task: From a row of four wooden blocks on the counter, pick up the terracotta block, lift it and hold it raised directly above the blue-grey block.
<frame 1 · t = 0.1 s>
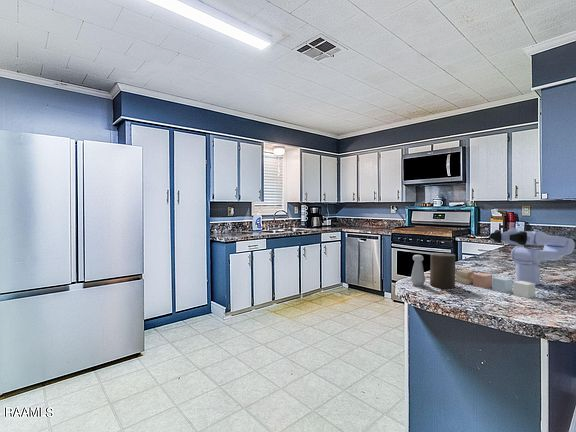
hand: (500, 236, 130), 22 cm above the countertop, tool horizontal, fingers open, 7 cm apart
pillar candle: (442, 286, 136), on the countertop
salt shaker: (417, 285, 138), on the countertop
cream block: (524, 295, 121), on the countertop
blue-grey block: (502, 290, 128), on the countertop
maple block: (464, 282, 143), on the countertop
terracotta block: (482, 286, 135), on the countertop
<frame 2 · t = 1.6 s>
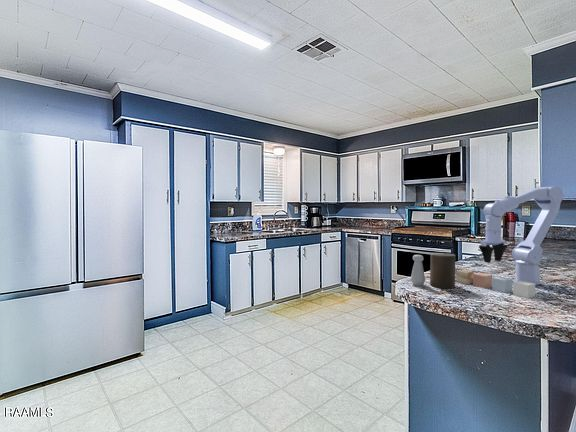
hand: (492, 261, 138), 10 cm above the countertop, tool pointing down, fingers open, 7 cm apart
nothing on the countertop moved.
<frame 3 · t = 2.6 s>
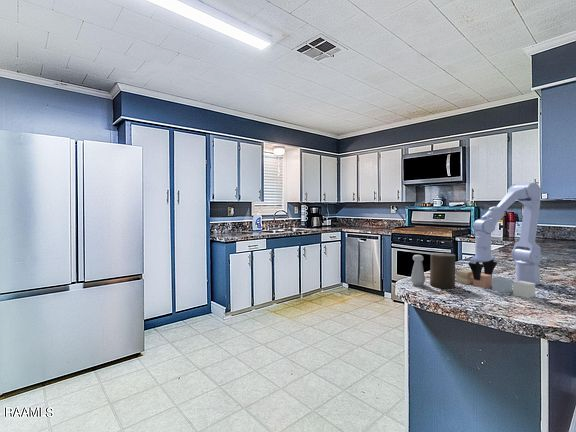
hand: (482, 278, 135), 3 cm above the countertop, tool pointing down, fingers open, 7 cm apart
nothing on the countertop moved.
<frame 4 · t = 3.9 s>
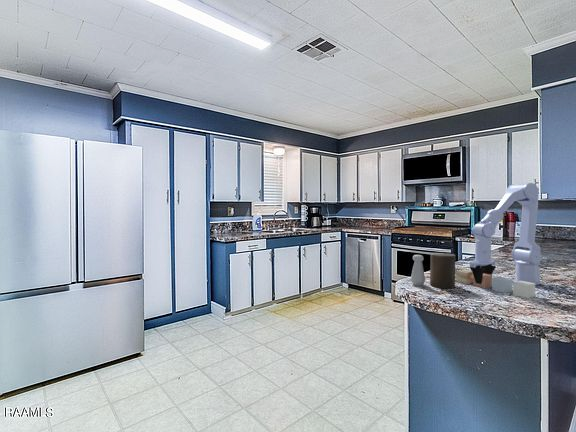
hand: (482, 282, 135), 1 cm above the countertop, tool pointing down, fingers closed on terracotta block, 5 cm apart
terracotta block: (482, 285, 135), on the countertop, touching gripper
everything else where it was.
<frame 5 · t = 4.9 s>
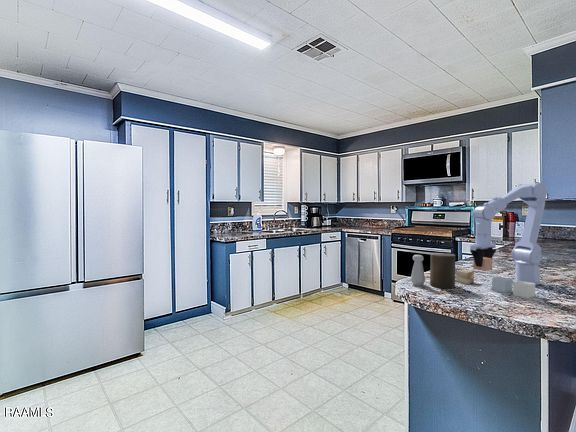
hand: (482, 265, 135), 9 cm above the countertop, tool pointing down, fingers closed on terracotta block, 5 cm apart
terracotta block: (482, 269, 135), point 7 cm above the countertop, touching gripper
everything else where it was.
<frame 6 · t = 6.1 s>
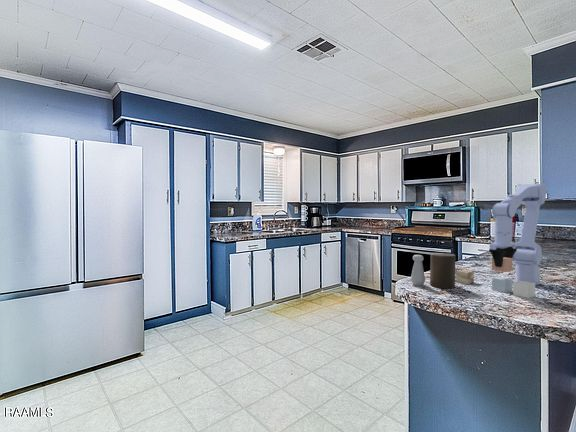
hand: (502, 266, 128), 10 cm above the countertop, tool pointing down, fingers closed on terracotta block, 5 cm apart
terracotta block: (502, 270, 128), point 8 cm above the countertop, touching gripper
everything else where it was.
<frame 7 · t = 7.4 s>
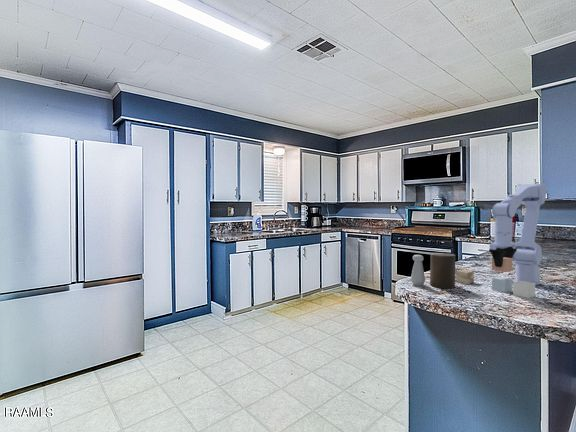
hand: (502, 266, 128), 10 cm above the countertop, tool pointing down, fingers closed on terracotta block, 5 cm apart
terracotta block: (502, 270, 128), point 8 cm above the countertop, touching gripper
everything else where it was.
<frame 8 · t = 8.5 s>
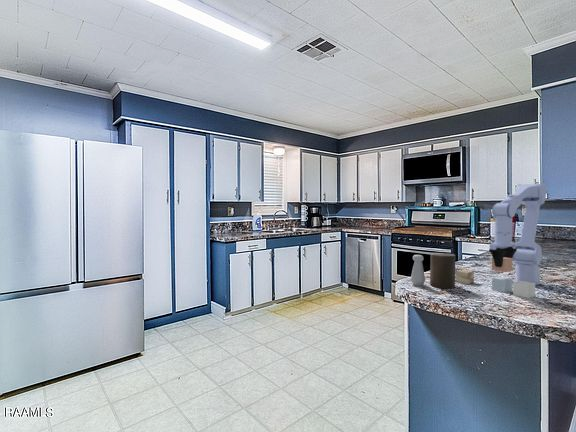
hand: (502, 266, 128), 10 cm above the countertop, tool pointing down, fingers closed on terracotta block, 5 cm apart
terracotta block: (502, 270, 128), point 8 cm above the countertop, touching gripper
everything else where it was.
at the end: the gripper is holding terracotta block; terracotta block point 8.3 cm above the countertop; terracotta block 0.2 cm from the blue-grey block (horizontally) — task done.
